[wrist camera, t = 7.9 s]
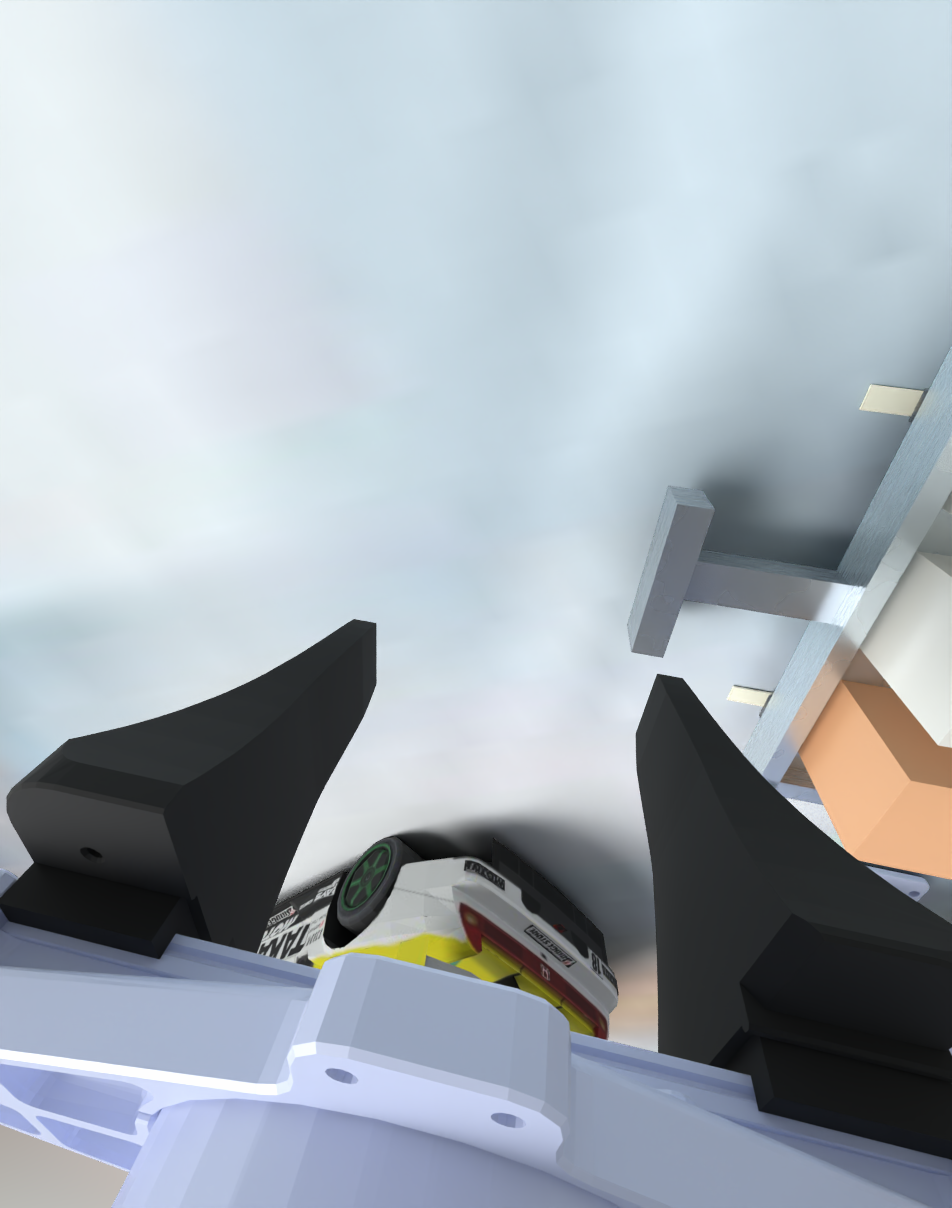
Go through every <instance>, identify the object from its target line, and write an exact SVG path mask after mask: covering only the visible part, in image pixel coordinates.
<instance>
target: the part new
mask: <svg viewBox="0 0 952 1208" xmlns="http://www.w3.org/2000/svg"><path fill="white" fill-rule="evenodd" d="M798 753H799V755H800V757H801V759H802V761H803V763H804V765H805V767H806V769H807V771H808V774H809V776H810V778H811V780H812V782H813V784H814V786H815V788H816V790H817V792H818V794H819V796H820V798H821V800H822V802H823V804H824V807H825V809H826V811H827V813H828V815H829V817H830V819H831V821H832V823H833V825H834V827H835V829H836V831H837V833H838V835H839V838H840V840H841V842H842V844H843V846H844V848H845V850H846V851H847V852H848V853H850V854H851V855H852V856H853V857H855V858H856V859H857V860H859V861H864V862H868V863H873V864H878V865H883V866H888V867H893V868H898V869H902V870H907V871H912V872H917V873H922V874H927V875H932V876H936V877H941V878H946V879H951V880H952V748H950V747H944V746H939V745H937V744H936V742H935V741H934V740H933V739H932V737H931V736H930V735H929V734H928V732H927V731H926V730H925V729H924V727H923V726H922V725H921V724H920V722H919V721H918V720H917V719H916V717H915V716H914V715H913V714H912V713H911V711H910V710H909V709H908V708H907V706H906V705H905V704H904V703H903V701H902V700H901V699H900V698H899V696H898V695H897V694H896V693H895V691H894V690H893V689H892V688H886V687H880V686H875V685H869V684H863V683H858V682H852V681H846V680H840V682H839V684H838V685H837V687H836V689H835V690H834V692H833V694H832V695H831V697H830V699H829V700H828V702H827V704H826V706H825V707H824V709H823V711H822V712H821V714H820V716H819V717H818V719H817V721H816V723H815V724H814V726H813V728H812V729H811V731H810V733H809V734H808V736H807V738H806V739H805V741H804V743H803V745H802V746H801V748H800V750H799V751H798Z"/></svg>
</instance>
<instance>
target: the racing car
mask: <svg viewBox="0 0 952 1208" xmlns="http://www.w3.org/2000/svg"><path fill="white" fill-rule="evenodd" d="M351 952H353V953H363V954H372V955H380V956H384V957H388V958H393V959H397V960H401V961H405V962H409V963H413V964H417V965H422V966H426V967H430V968H434V969H438V970H442V971H446V972H450V973H455V974H459V975H463V976H467V977H471V978H475V979H479V980H484V981H488V982H492V983H496V984H500V985H504V986H508V987H513V988H517V989H519V990H522V991H525V992H527V993H530V994H533V995H535V996H538V997H540V998H543V999H545V1000H547V1001H548V1002H549V1003H550V1004H551V1005H553V1006H554V1007H555V1008H556V1009H557V1010H558V1011H560V1012H561V1013H562V1014H563V1015H564V1016H565V1018H566V1019H567V1020H568V1021H569V1026H570V1031H572V1032H576V1033H580V1034H584V1035H588V1036H592V1037H596V1038H600V1039H604V1040H608V1037H609V1014H610V1013H611V1012H612V1011H613V1010H614V1008H615V1007H616V1006H617V1003H618V987H617V980H616V979H615V976H614V973H613V972H612V970H611V969H610V968H609V966H608V963H607V956H606V950H605V943H604V937H603V934H602V933H601V932H600V931H599V930H598V929H597V928H596V926H595V925H594V924H593V923H592V922H591V921H590V920H589V919H588V918H587V917H586V916H585V915H584V914H583V913H582V912H580V911H579V910H578V909H577V908H576V907H575V906H574V905H573V904H572V903H571V902H570V901H569V900H568V899H566V898H565V897H564V896H563V895H562V894H561V893H560V892H559V891H558V890H557V889H556V888H555V887H554V886H552V885H551V884H550V883H549V882H548V881H546V880H545V879H544V878H543V877H542V876H540V875H539V874H538V873H537V872H536V871H535V870H533V869H532V868H531V867H530V866H529V865H527V864H526V863H525V862H524V861H523V860H522V859H520V858H519V857H518V856H517V855H515V854H514V853H513V852H511V851H510V850H509V849H508V848H506V847H505V846H504V845H502V844H501V843H500V842H498V841H497V840H496V839H494V838H493V852H492V862H491V863H486V862H484V861H483V860H481V859H479V858H476V857H473V856H461V857H454V858H446V859H438V860H430V861H425V860H424V859H423V858H421V857H420V856H419V855H418V854H417V853H415V852H414V851H413V850H412V849H410V848H409V847H408V846H407V845H406V844H404V843H403V842H402V841H401V840H399V839H398V838H397V837H390V838H384V839H382V840H380V841H378V842H376V843H375V844H373V845H372V846H371V847H370V848H369V849H368V850H367V851H365V852H364V854H363V855H362V856H361V857H360V858H359V860H358V861H357V862H356V863H355V865H354V866H353V868H352V869H351V871H350V873H349V874H347V873H345V872H344V871H341V872H339V873H338V874H336V875H334V876H332V877H330V878H328V879H326V880H324V881H322V882H320V883H318V884H316V885H314V886H313V887H311V888H309V889H307V890H305V891H303V892H301V893H299V894H297V895H295V896H293V897H291V898H289V899H288V900H286V901H284V902H282V903H280V904H278V905H276V906H274V909H273V911H272V914H271V916H270V919H269V922H268V925H267V927H266V930H265V933H264V936H263V938H262V941H261V944H260V947H259V950H258V952H257V954H260V955H264V956H268V957H272V958H277V959H281V960H285V961H289V962H293V963H297V964H301V965H305V966H309V967H313V968H317V969H322V966H323V964H324V962H325V961H327V960H329V959H331V958H334V957H337V956H341V955H344V954H347V953H351Z"/></svg>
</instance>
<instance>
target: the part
mask: <svg viewBox="0 0 952 1208" xmlns="http://www.w3.org/2000/svg"><path fill="white" fill-rule="evenodd" d="M860 649H861V650H862V652H863V653H864V654H865V655H866V657H867V658H868V659H869V660H870V662H871V663H872V664H873V665H874V667H875V668H876V669H877V670H878V672H879V673H880V674H881V675H882V677H883V678H884V679H885V680H886V682H887V683H888V684H889V685H890V686H891V688H892V689H893V690H894V691H895V693H896V694H897V695H898V696H899V698H900V699H901V700H902V701H903V703H904V704H905V705H906V706H907V708H908V709H909V710H910V711H911V713H912V714H913V715H914V716H915V717H916V719H917V720H918V721H919V722H920V724H921V725H922V726H923V727H924V729H925V730H926V731H927V732H928V734H929V735H930V736H931V737H932V739H933V740H934V741H935V742H936V744H937V745H939V746H944V747H950V748H952V556H946V555H939V554H932V553H926V552H919V551H916V553H915V554H914V556H913V558H912V560H911V561H910V563H909V565H908V566H907V568H906V570H905V571H904V573H903V575H902V576H901V578H900V580H899V582H898V583H897V585H896V587H895V588H894V590H893V592H892V593H891V595H890V597H889V598H888V600H887V602H886V604H885V605H884V607H883V609H882V610H881V612H880V614H879V615H878V617H877V619H876V621H875V622H874V624H873V626H872V627H871V629H870V631H869V632H868V634H867V636H866V637H865V639H864V641H863V643H862V644H861V646H860Z"/></svg>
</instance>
